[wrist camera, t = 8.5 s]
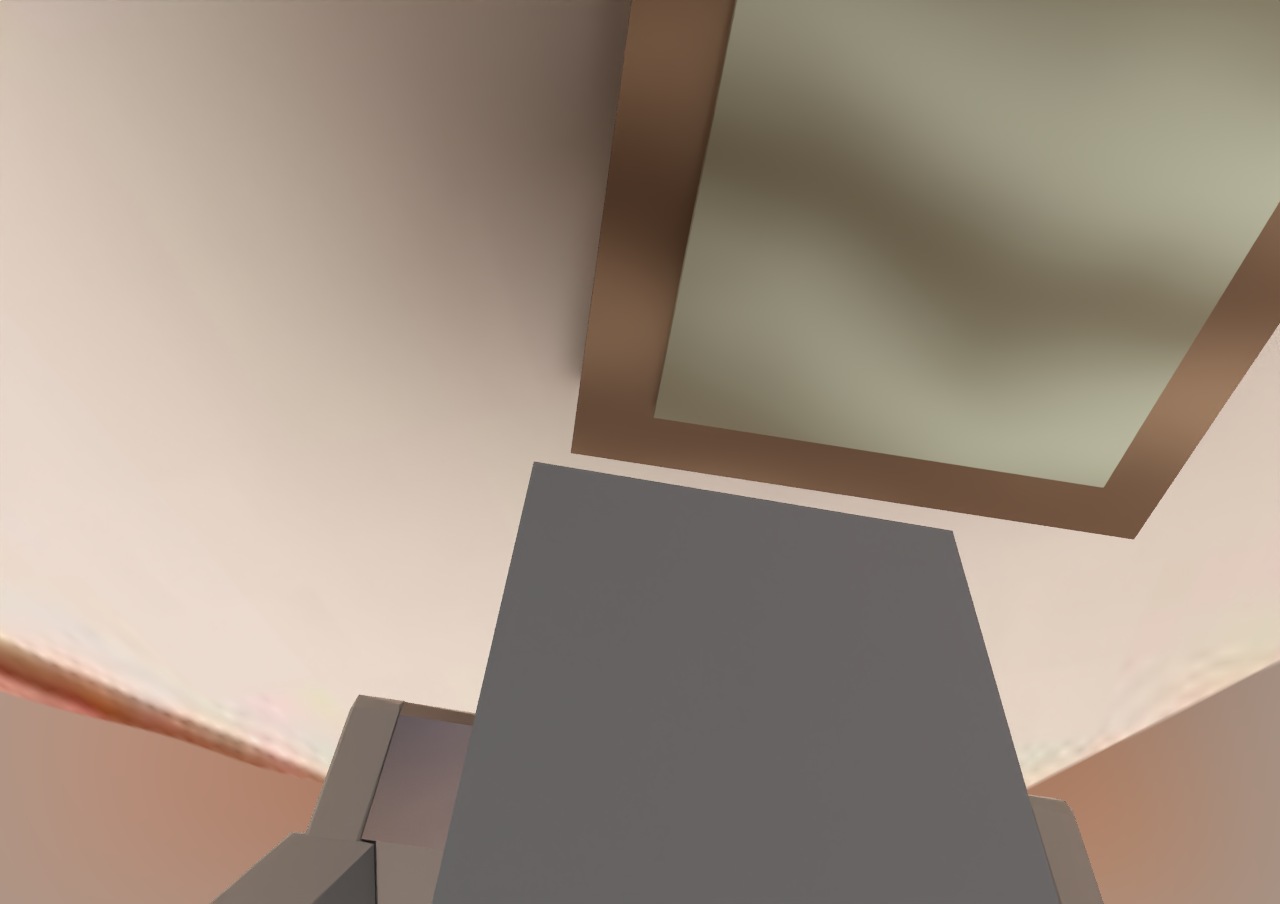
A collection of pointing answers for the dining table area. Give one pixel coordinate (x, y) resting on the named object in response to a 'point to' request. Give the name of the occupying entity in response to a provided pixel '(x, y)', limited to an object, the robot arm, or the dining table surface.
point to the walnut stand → (937, 247)
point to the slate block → (735, 713)
